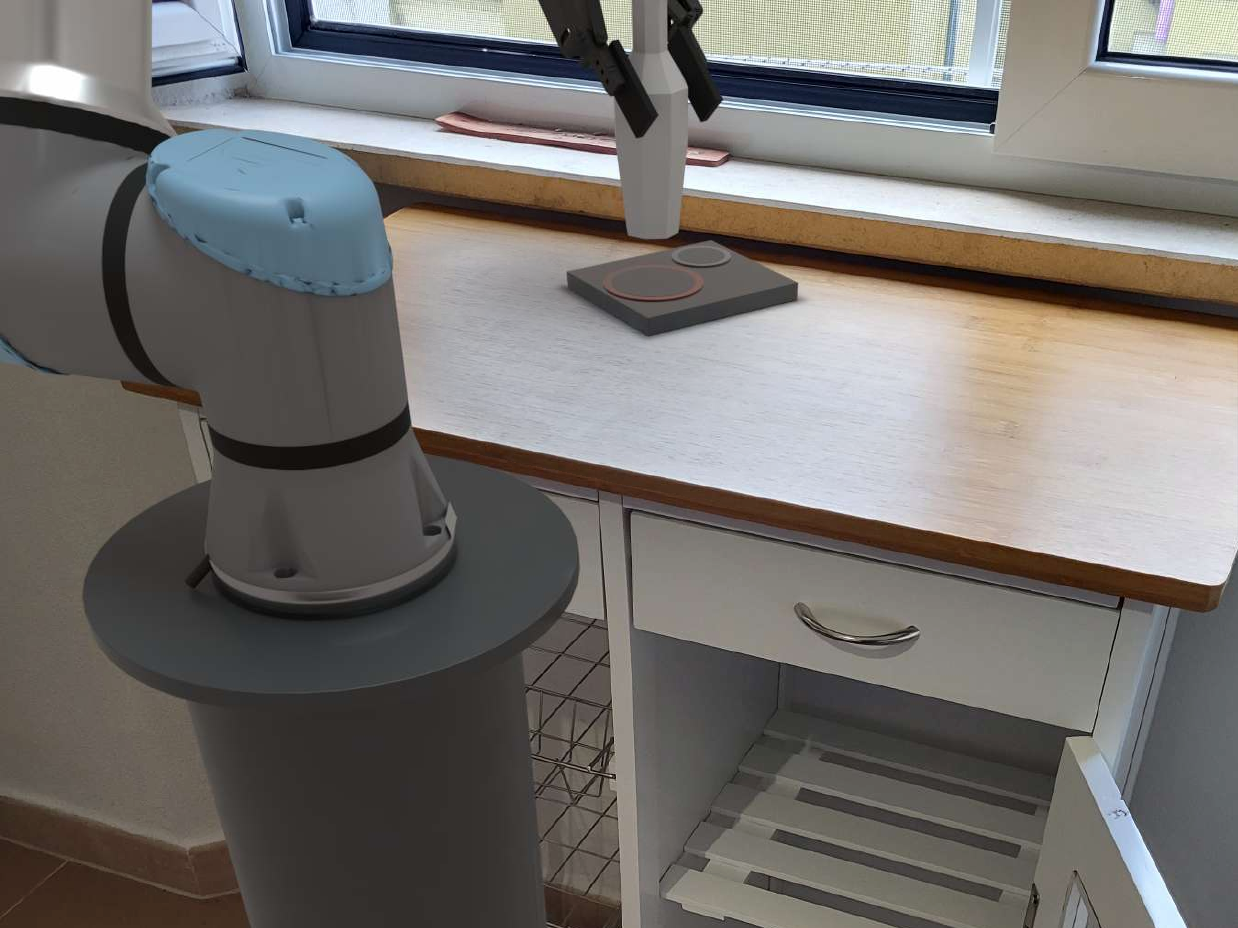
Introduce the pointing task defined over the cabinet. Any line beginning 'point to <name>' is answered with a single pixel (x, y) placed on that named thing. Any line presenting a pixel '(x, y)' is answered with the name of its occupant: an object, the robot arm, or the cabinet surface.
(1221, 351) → the cabinet surface
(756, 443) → the cabinet surface
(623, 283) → the hob
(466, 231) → the cabinet surface
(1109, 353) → the cabinet surface
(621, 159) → the low poly bottle
